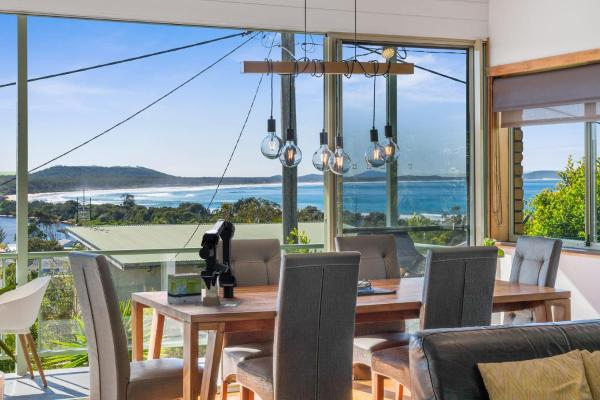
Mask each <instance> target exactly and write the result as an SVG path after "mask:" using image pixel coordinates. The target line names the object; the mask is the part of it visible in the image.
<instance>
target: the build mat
mask: <svg viewBox="0 0 600 400" xmlns="http://www.w3.org/2000/svg"><path fill="white" fill-rule="evenodd" d="M227 304H237V305H236V306H225V305H227ZM242 304H244V301H220V304H219V305H218V306H216V307H224V308H225V307H226V308H227V307H228V308H229V307H230V308H232V307H233V308H237V307H238V306H239V307H240V306H241V305H242ZM193 307H204V306H203V300H201V301H199V303H198V302H197V303H196V304H195V305H193Z"/></svg>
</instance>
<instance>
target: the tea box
mask: <svg viewBox="0 0 600 400" xmlns="http://www.w3.org/2000/svg"><path fill="white" fill-rule="evenodd" d="M202 281H203V278H202V276H201V273H195V272H189V273H187V272H183V273H171V274H170V273H169V274H167V293H166V294H167V296H166V297H167V298H166V299H167V303H168V304H172V305H174V304H177V305H178V304H187V303H196V302H197V303H198V302H202V299H203V297H202V292H203V291H202V289H203V288H202V286H203V284H202V283H203V282H202Z"/></svg>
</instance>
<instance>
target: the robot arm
mask: <svg viewBox="0 0 600 400" xmlns="http://www.w3.org/2000/svg"><path fill="white" fill-rule="evenodd" d="M235 232H236V226H235V224H233V223H232V222H230V221H228V220H227V219H220V218H219V219H217V220H216V222H215V223H214V225H213V226H212V227H211V229H209V230H206V232H204V234H203V235H202V239H201V243H200V247H201V248H200V249H199V251H198V256H199V257H200V259H202V260H204V263H205V268H204V269H202V270H201V271H200V274H201V276H202V281H203V282H204V285H205V287H207V289H208V290H210V288H211V286H217V285H216V284H217V281H218V285H219V286H218V287H220V288H222V297H221V299H234V298H236V296H235V291H234V290H235V288H237V287H238V280H237V277H236V275H235V270H234V269H233V268H232V240H233V238H234V236H235ZM220 239H221V245H222V248H221V249H222V257H221V258H222V262H220V261H219V259H218V245H219V242H220Z"/></svg>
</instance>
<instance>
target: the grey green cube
mask: <svg viewBox="0 0 600 400" xmlns="http://www.w3.org/2000/svg"><path fill="white" fill-rule="evenodd" d="M205 296H206V297H212V298H215V297H217V296H219V286H217V285H215V286H212V285H211V288H210V290H208V289H207V287H206V286H205Z"/></svg>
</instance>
